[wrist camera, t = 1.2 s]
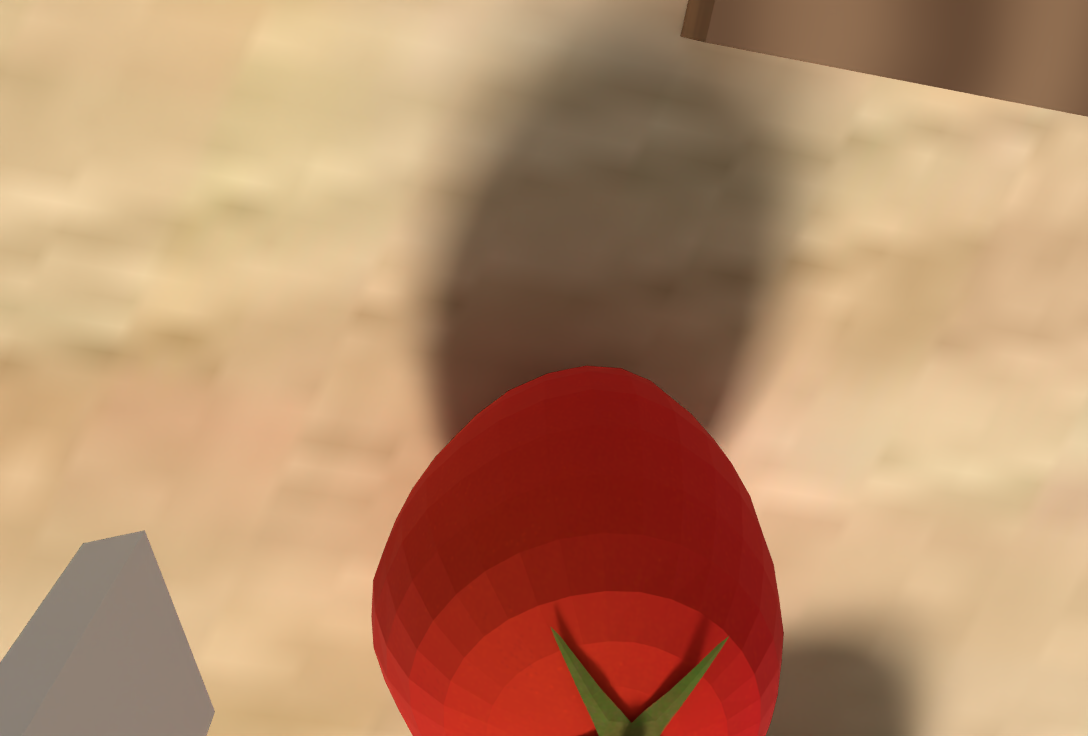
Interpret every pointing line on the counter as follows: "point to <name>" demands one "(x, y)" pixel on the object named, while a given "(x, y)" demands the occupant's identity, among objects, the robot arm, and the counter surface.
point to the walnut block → (920, 42)
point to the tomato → (580, 574)
